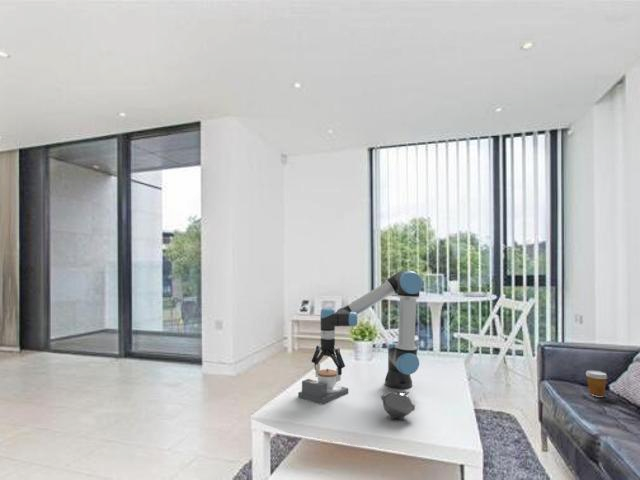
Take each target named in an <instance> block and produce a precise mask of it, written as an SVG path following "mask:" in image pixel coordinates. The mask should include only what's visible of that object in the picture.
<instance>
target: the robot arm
mask: <svg viewBox="0 0 640 480" xmlns="http://www.w3.org/2000/svg"><path fill="white" fill-rule="evenodd" d="M422 288H423V279H422V277H421V275H419V274H418V273H417V272H415V271H413V270H406V269H405V270H400V271H398V272H396V273H394V274H393V275H392V276H390V277H388V278H387V279H385V281H384V282H383V283H382V284H380V285H379V286H377V287H376V288H374V289H372V290H370V291H369V292H367V293H366V294H363V295H361V296H360V297H359V298H357V299H355V300H354V301H352V302H351V303H349V304H347V305H345V306H344V307H340V308H338V309H336V310H335V309H334V308H331V307H325V308H322V309H321V310H320V344H319V345H316V346H315V351H314V354H313V357H312V358H311V363H313V365H314V371H315V377H316V378H318V374H317V372H318V371H319V370H321V365H320V364H321V363H320V362H321V360H322V359H323V358H324V356H326V357H330V358H331V359H332V361H333V363H334V364H335V366H336V370H335V371H336V381H337V382H336V383H338V382H340V381H341V380H342V379H341V375H342V374H343V373H342V372H343V369H345V367H346V364H345V362H344V360H343V356H342V354H341V349H340V348H335V345H336V339H335V338H336V327H350V328H351V327H357V326H358V321H359V319H358V318H359V317H358V315H360V314H361V313H363V312H365V311H366V310H369V308H372V307H373V306H375V305H377V304H378V303H380V302H381V301H383V300H385V299H386V298H388V297H390V296H392V295H397V297H398V298H399V316H398V317H399V318H398V337H397V340H398V341H397V342H395V343H393V342H392V343H389V344H388V347H387V353H388V354H387V372H386V376H385V379H384V385H385V386H387V387H389V388H391V389H392V388H394V389H401V390H402V389H403V390H404V389H409V388H412V386H413V380H412V377H411V375H412V374H414V373H416V372H417V371H418V369H419V367H420V360H419V358H418V347H417V346H416V345H415V343H416V341H415V340H416V338H415V336H416V319H417V318H416V315H417V313H416V312H417V300H418V299H419V298H420V292H421V289H422Z"/></svg>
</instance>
